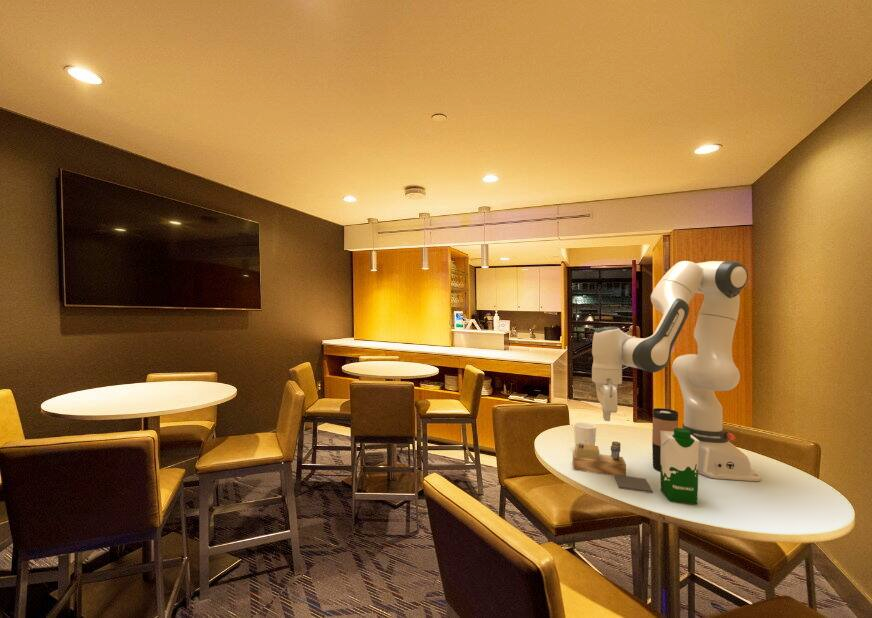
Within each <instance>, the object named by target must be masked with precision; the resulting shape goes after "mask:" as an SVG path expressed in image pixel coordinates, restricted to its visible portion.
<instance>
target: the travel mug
mask: <svg viewBox="0 0 872 618" xmlns="http://www.w3.org/2000/svg"><path fill="white" fill-rule="evenodd" d="M674 428H679V411H677V410H673V409H669V408H663V407H662V408H661V407H658V408H657V407H655V408H653V409H652V437H651V438H652V440H651V441H652V442H651V443H652V444H651V445H652V446H651V447H652V468H653V469H654V470H656V471H658V472H660V458H661V438H660V431H673V432H674Z"/></svg>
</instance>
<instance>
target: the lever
mask: <svg viewBox="0 0 872 618" xmlns="http://www.w3.org/2000/svg"><path fill="white" fill-rule="evenodd" d="M621 445H622V444H621V442H619V441H611V445H610V451H611V452H610V454H611V457H613V458H617V454H618V452H619V453H620V452H621Z"/></svg>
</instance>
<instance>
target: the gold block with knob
mask: <svg viewBox="0 0 872 618" xmlns="http://www.w3.org/2000/svg"><path fill="white" fill-rule="evenodd" d="M575 451H576V455H577V457H579V458H587V459H595V460H599V454H600V449H599V446H598V445H595V446H592V445H584V444H581V443H579V444H576V450H575Z"/></svg>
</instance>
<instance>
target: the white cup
mask: <svg viewBox="0 0 872 618" xmlns="http://www.w3.org/2000/svg"><path fill="white" fill-rule="evenodd" d="M573 425H574V426H573V428H574V429H573V430H574V433H573V434H574V445H575V446H574V447H575V448H574V451H576V444H579V443H581V444H584V445H592V446H596V436H597V434H596V433H597V426H596V425H595V424H592V423H590V422H575V423H574V424H573Z"/></svg>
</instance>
